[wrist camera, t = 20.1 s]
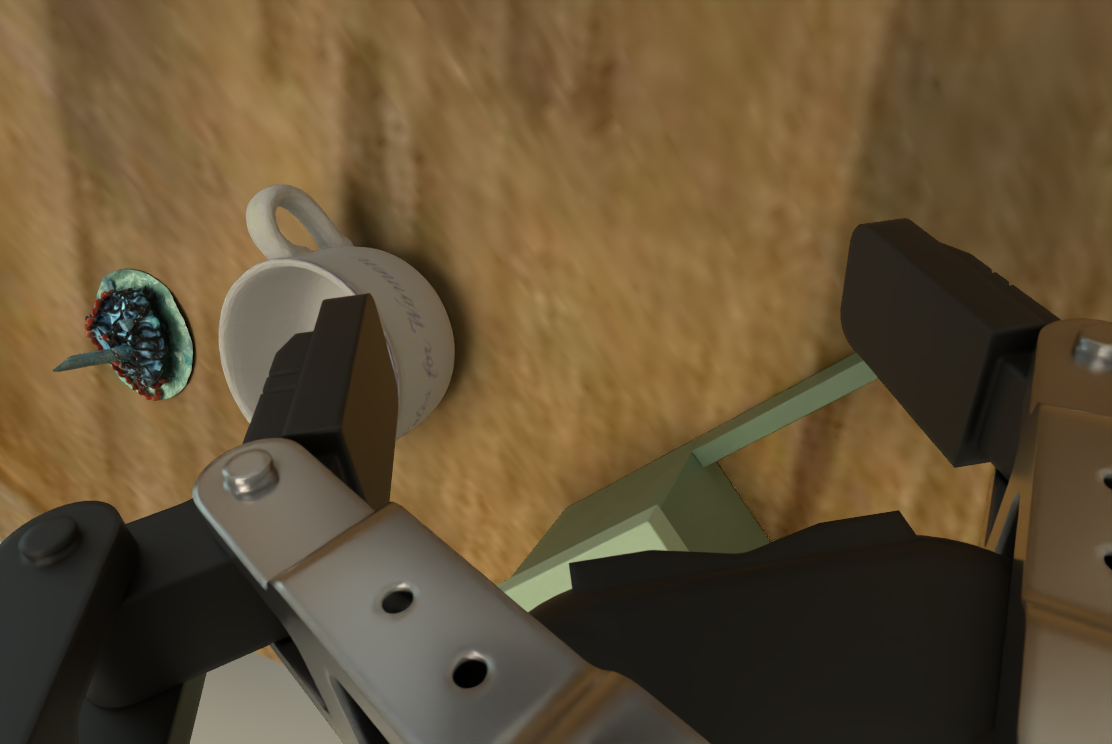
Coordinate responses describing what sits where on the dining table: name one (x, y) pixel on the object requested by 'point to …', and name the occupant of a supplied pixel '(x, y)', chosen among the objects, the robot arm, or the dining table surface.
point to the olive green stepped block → (675, 495)
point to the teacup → (334, 271)
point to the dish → (138, 335)
